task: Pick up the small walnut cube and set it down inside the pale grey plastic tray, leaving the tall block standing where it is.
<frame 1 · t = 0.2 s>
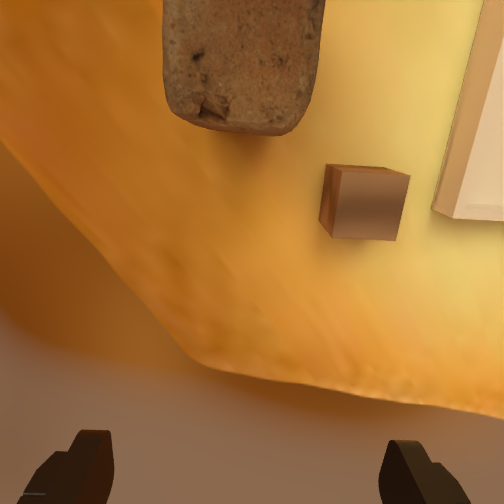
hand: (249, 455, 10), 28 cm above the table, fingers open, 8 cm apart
cube: (350, 194, 36), on the table
block: (242, 69, 31), on the table
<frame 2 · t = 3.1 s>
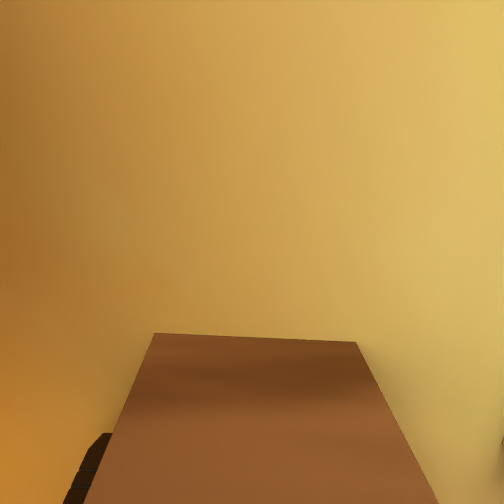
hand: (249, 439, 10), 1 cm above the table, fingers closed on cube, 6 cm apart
cube: (249, 414, 11), on the table, touching gripper
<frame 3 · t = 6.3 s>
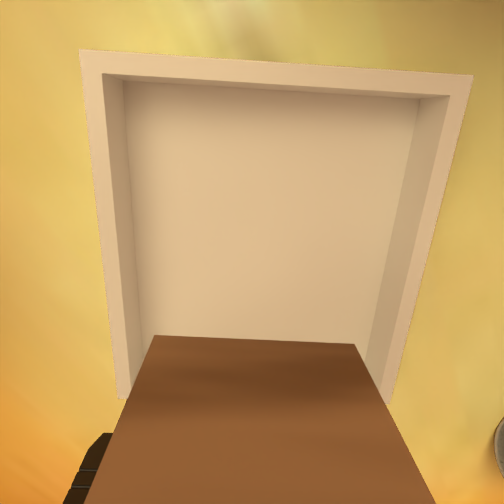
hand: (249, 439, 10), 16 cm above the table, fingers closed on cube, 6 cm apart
cube: (249, 415, 11), point 15 cm above the table, touching gripper
tray: (262, 242, 25), on the table
when the fingers open (3 cm above the table, at t = 9.4 s): cube drops 1 cm, resting on tray.
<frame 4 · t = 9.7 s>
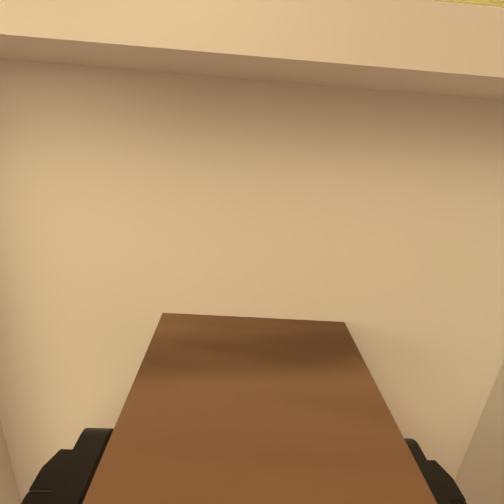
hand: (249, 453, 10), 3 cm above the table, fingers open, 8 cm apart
cube: (248, 389, 12), point 1 cm above the table, touching tray
tray: (247, 373, 13), on the table
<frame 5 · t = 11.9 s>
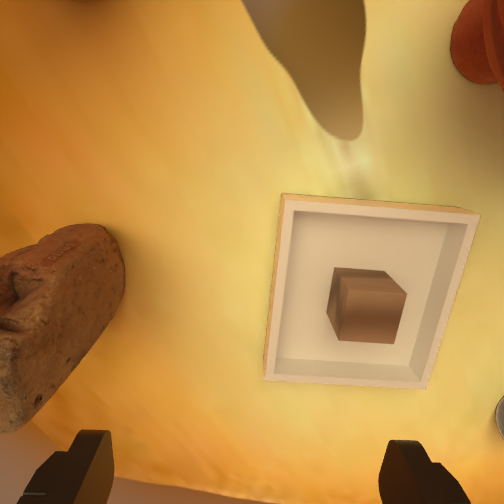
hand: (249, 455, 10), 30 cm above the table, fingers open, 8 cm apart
cube: (354, 292, 41), point 1 cm above the table, touching tray
tray: (352, 289, 41), on the table
goblet: (495, 32, 33), on the table
block: (96, 262, 40), on the table
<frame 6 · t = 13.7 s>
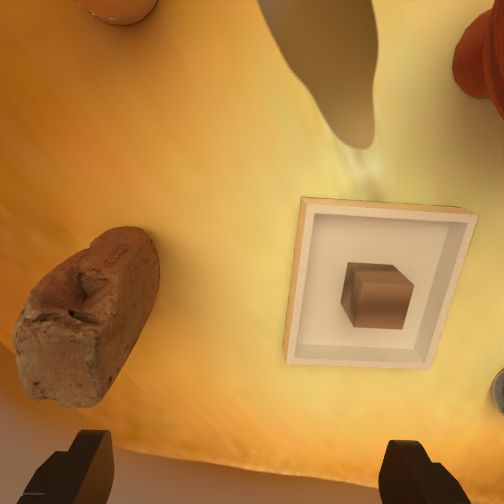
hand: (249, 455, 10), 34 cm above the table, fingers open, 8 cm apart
cube: (365, 284, 45), point 1 cm above the table, touching tray
tray: (363, 281, 46), on the table
goblet: (492, 53, 37), on the table
block: (133, 261, 44), on the table
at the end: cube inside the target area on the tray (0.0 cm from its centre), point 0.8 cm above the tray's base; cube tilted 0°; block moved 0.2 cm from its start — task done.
